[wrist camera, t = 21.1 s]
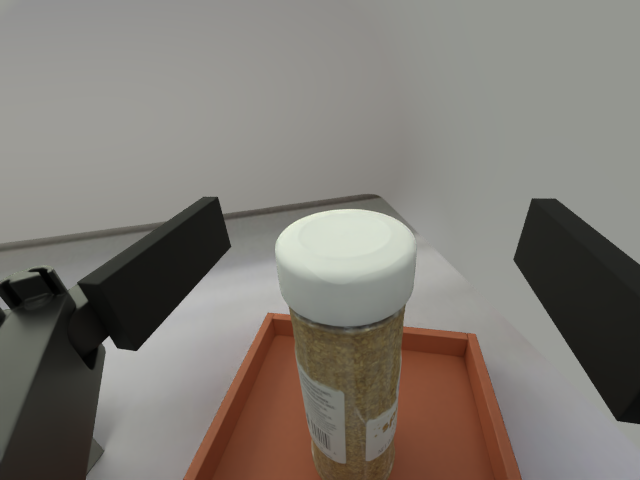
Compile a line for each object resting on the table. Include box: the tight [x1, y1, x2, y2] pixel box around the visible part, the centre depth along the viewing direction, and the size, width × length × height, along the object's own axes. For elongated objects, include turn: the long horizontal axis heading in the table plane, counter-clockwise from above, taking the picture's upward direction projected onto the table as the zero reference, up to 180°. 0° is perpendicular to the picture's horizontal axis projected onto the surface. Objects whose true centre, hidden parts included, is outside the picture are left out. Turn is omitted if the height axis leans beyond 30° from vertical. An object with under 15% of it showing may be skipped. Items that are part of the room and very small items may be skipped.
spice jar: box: [275, 209, 417, 480], centre depth 13 cm, size 5×5×14 cm
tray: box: [183, 313, 522, 480], centre depth 16 cm, size 15×15×2 cm
